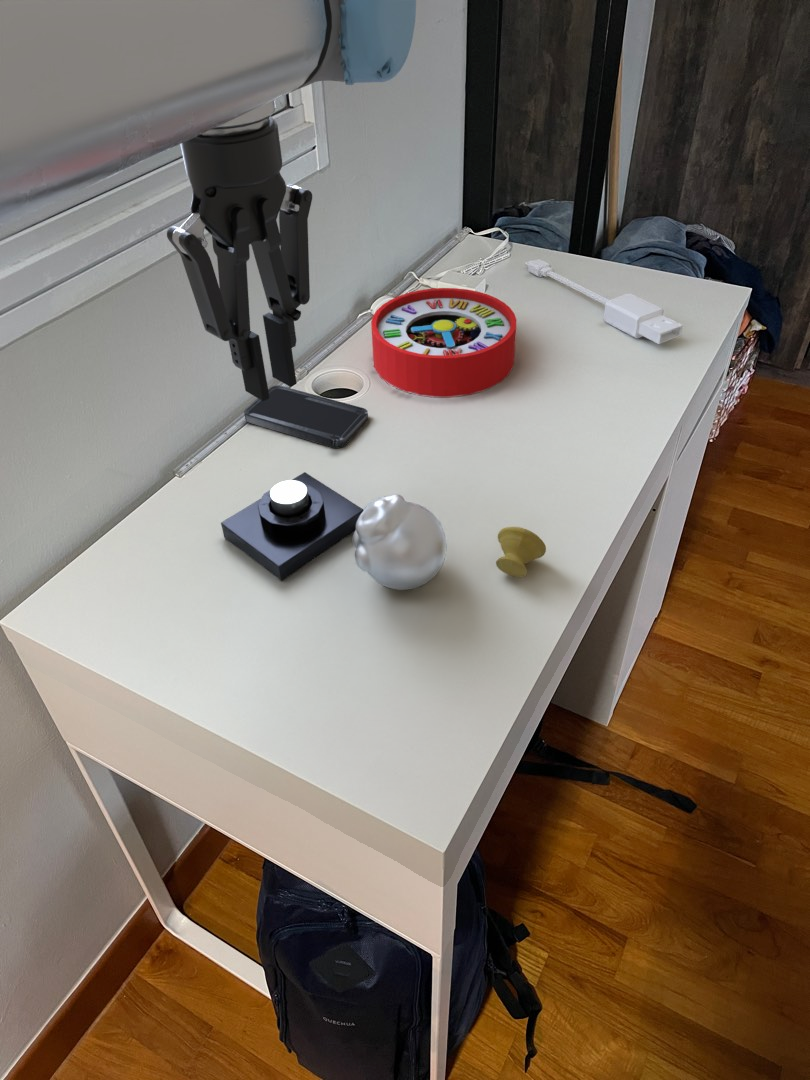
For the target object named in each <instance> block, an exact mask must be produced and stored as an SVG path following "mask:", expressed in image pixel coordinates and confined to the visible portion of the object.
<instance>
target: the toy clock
mask: <svg viewBox="0 0 810 1080" xmlns="http://www.w3.org/2000/svg"><path fill="white" fill-rule="evenodd" d="M370 326H371V327H370V329H371V343H372V358H373V360H372V361H373V367H374V370H375V373H376V374H377V375H378V377H380V379H381V380H383V381H384V382H385V383H387V384H388V385H389V386H392V387H393V388H395V389H397V390H399V391H403V392H405V393H407V394H411V395H412V394H413V395H417V396H421V397H423V396H424V397H429V398H453V397H454V398H455V397H463V396H468V395H472V394H476V393H480V392H483V391H486V390H488V389H490V388H493V387H494V386H496V385H498V384H499V383H501V382H502V381H504V380H505V379H506V378H507V377H508V376H509V374H510V373H511V372H512V371H513V368H514V366H515V353H516V337H517V317H516V313H515V312H514V311H513V310H512V308H511V307H510V306H509V305H508V304H507V303H505V302H504V301H502V300H500V299H499V298H497V297H495V296H493V295H490V294H488V293H484V292H481V291H477V290H473V289H472V290H471V289H466V288H456V287H433V288H427V289H418V290H415V291H409V292H407V293H403V294H401V295H398V296H396V297H394V298H392V299H389V300H388V301H386V302H384V303H383V304H382V305H381V306H380V307H378V308H377V309H376V311H375V312H374V314H373V315H372V317H371V321H370Z"/></svg>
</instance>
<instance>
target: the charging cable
mask: <svg viewBox="0 0 810 1080" xmlns="http://www.w3.org/2000/svg"><path fill="white" fill-rule="evenodd" d="M524 265H525V266H527V271H528V273H530V274H532V275H534V276H536V277H537V278H541V277H545V278H547V277H550V278H552V279H554V280H556V281H558V282H559V283H561V284H563V285H566V286H567V287H569V288H572V289H573V290H575V291H578V292H580V293H582V294H583V295H585V296H587V297H589V298H592V299H593V300H594V301H597V302H599V303H601V304H603V305H604V311H603V319H602V320H603V322H604V323H606V324H608V325H610V326H611V327H614V328H615V329H617V330H620V331H622V332H623V333H625V334H627V335H629V336H630V337H633V338H635V339H640V338H642V337H643V338H646V339H648V340H650V341H651V342H654V343H656V344H658V345H661V344H663V343H666V342H668V341H671V340H674V339H676V338H678V337H681V336H682V332H683V326H684V325H683V324H682V323H679V322H677V321H676V320H673V319H671V318H669V317H668V316H665V315H664V313H665V312H664V311H665V310H664V309H663V308H661V307H659V306H657V305H655V304H653V303H651V302H649V301H647V300H645V299H643V298H641V297H639V296H637V295H635V294H632V293H631V292H629V293H625V294H622V295H619V296H617V297H614V298H611V299H608V298H606V297H605V296H602V295H600V294H598V293H596V292H594V291H592V290H590V289H588V288H587V287H584V286H582V285H580V284H578V283H576V282H574V281H573V280H570V279H568V278H567V277H564V276H562V275H561V274H559V273H556V272H555V271H554V268H552V265H551V264H550V263H548V262H547V261H544V260H542V259H540V258H538V259H535V260H533V259H532V260H529V261H525V262H524Z"/></svg>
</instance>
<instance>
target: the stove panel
mask: <svg viewBox="0 0 810 1080" xmlns="http://www.w3.org/2000/svg"><path fill="white" fill-rule="evenodd" d="M291 480H295V481H299V482H302V483H303V484H305V485H306V487H307V490H308V497H309V503H310V506H309V509H308V510H307V512H305V513H304V514H302V515H300V516H296V517H291V518H285V517H279V516H277V515H276V514H275V513H274V512H273V510H272V504H271V499H270V491H271V489H269V490H268V491H266V492H264V493H263V495H262V497H261V498H259V499H258V500H256V501H255V502H253V503H251V504H250V505H248V506H246V507H245V508H243V509H241V510H239V511H238V512H236V513H234V514H232V515H231V516H229V517H228V518H227V519H225V520H223V521H221V522H220V525H221V529H222V534H223V538H225V539H226V540H227V541H228V542H229V543H231V544H232V545H234V546H235V547H236V548H237V549H238V550H240V551H242V552H243V553H244V554H245V555H246V556H248V557H249V558H250V559H252V560H253V561H254V562H256V563H257V564H259V566H261V567H262V568H263V569H265V570H266V571H267V572H268V573H270V574H271V575H273V576H274V577H276V578H277V579H278V580H279V581H281V582H283V581H285V580H286V579H287V578H289V577H290V576H292V575H293V574H295V573H297V571H299V570H300V569H302V568H304V567H305V566H307V565H308V564H309V563H311V562H312V561H314V560H315V559H317V558H318V557H319V556H321V555H323V554H324V553H325V552H327V551H328V550H330V549H332V548H333V547H334V546H336V545H337V544H339V543H340V542H342V541H343V540H345V539H346V538H348V537H349V536H351V535H353V534H354V531H355V530H356V522H357V520H358V518H359V516H360V515H361V513H362V512H363V510H364V508H362V507H361V506H359V505H357V504H356V503H354V502H353V501H351V500H350V499H348V498H347V497H344V496H343V495H342V494H340V493H339V492H337V491H336V490H334V489H332V488H331V487H329V486H327V485H325V484H324V483H323V482H322V481H320V480H318V479H316V478H315V477H313V476H312V475H311V474H309V473H307V472H302V473H300V474H298V475H297V476H296V477H294V478H293V479H291Z"/></svg>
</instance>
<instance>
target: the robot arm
mask: <svg viewBox="0 0 810 1080" xmlns="http://www.w3.org/2000/svg"><path fill="white" fill-rule="evenodd" d="M416 15H417V0H0V229H2V228H4V227H6V226H8V225H10V224H12V223H15V222H16V221H19V220H21V219H23V218H25V217H27V216H29V215H31V214H33V213H36V212H38V211H40V210H42V209H44V208H46V207H49V206H50V205H53V204H56V203H57V202H59V201H62V200H63V199H66V198H67V197H70V196H72V195H74V194H76V193H79V192H80V191H83V190H85V189H87V188H89V187H91V186H93V185H96V184H98V183H100V182H102V181H104V180H107V179H109V178H111V177H113V176H115V175H117V174H120V173H121V172H123V171H126V170H128V169H129V168H132V167H134V166H136V165H139V164H140V163H143V162H145V161H147V160H149V159H152V158H154V157H156V156H158V155H160V154H163V153H164V152H166V151H168V150H170V149H173V148H176V147H177V146H179V145H180V149H181V154H182V159H183V163H184V170H185V173H186V176H187V178H188V181H189V183H190V186H191V190H192V197H191V202H190V213H191V215H190V216H189V217H188V218H187V219H186V220H185V221H184V222H183V223H182V224H181V226H180V227H178V226H175V225H172V226H170V227H169V228H168V229H167V231H166V238H167V240H168V241H169V242H170V244H171V245H172V246H173V248H174V249H175V250H176V251H177V253H178V254H179V255H180V259H181V261H182V264H183V267H184V270H185V274H186V276H187V279H188V282H189V285H190V288H191V291H192V294H193V298H194V302H195V304H196V306H197V310H198V313H199V316H200V318H201V321H202V324H203V327H204V330H205V331H206V332H207V333H209V334H211V335H213V336H214V337H216V338H218V339H220V340H222V341H224V342H228V345H229V349H230V355H231V360H232V364H233V365H234V366H235V367H236V368H238V369H240V370H241V374H242V379H243V380H242V381H243V385H244V390H245V392H246V393H248V394H250V395H252V396H253V397H255V398H256V399H260V400H262V401H265V400H267V399H269V398H270V397H269V392H268V389H269V388H268V387H269V386H268V380H267V375H266V369H265V362H264V357H263V350H262V346H261V345H262V344H261V340H260V339H261V338H260V335H259V334H258V333H256V332H253V331H251V317H250V301H249V300H250V298H249V282H248V281H249V279H248V263H247V262H249V260H250V258H251V254H250V246H251V249H252V253H253V256H254V259H255V263H256V267H257V270H258V273H259V277H260V281H261V284H262V288H263V292H264V296H265V298H266V302H267V305H268V306H267V307H268V309H269V310H271V311H272V313H271V312H267V313H264V314H262V320H263V325H264V326H263V327H264V333H265V339H266V344H267V350H268V357H269V363H270V369H271V375H272V378H274V379H276V380H277V381H279V382H281V383H283V384H284V385H286V386H288V387H289V388H292V387H294V386H296V385H297V384H298V383H297V376H296V369H295V361H294V355H293V348H295V347H296V346H297V335H296V333H297V332H296V327H295V322H296V321H299V319H300V318H301V316H302V311H301V310H299V309H298V308H299V306H301V305H304V306H305V305H307V304H308V303H309V301H310V299H311V289H310V288H311V287H310V257H309V255H310V254H309V252H310V251H309V221H308V220H309V214H310V211H311V206H312V203H313V202H312V201H313V193H312V192H311V191H310V190H309V189H306V188H303V187H302V186H298V185H295V184H292V183H287V184H286V181H285V179H284V178H283V176H282V174H281V171H282V168H283V156H282V148H281V142H280V141H281V139H280V132H279V126H278V122H277V121H276V120H275V119H274V118H273V117H272V115H273V114H275V112H276V108H277V105H276V100H278V99H280V98H281V97H284V96H286V95H288V94H290V93H292V92H295V91H298V90H300V89H303V88H305V87H308V86H309V85H312V84H314V83H317V82H325V81H326V82H327V81H328V82H329V81H330V82H340V83H344V84H345V85H346V86H354V85H355V84H364V83H365V84H366V83H385V82H387V81H391V80H392V79H393V78H394V77H396V76H397V75H398V74H399V73H400V71H401V70H402V68H403V67H404V65H405V63H406V62H407V59H408V56H409V53H410V50H411V47H412V42H413V38H414V31H415V25H416ZM277 219H278V221H277ZM278 223H279V225H278ZM205 230H206V231H207V232H208V234H210V235H211V240H212V250H213V252H214V254H215V255H216V259H217V272H218V279H217V276H216V272H215V269H214V266H213V263H212V259H211V257H210V255H209V252H208V251H207V250H206V248H207V247H208V245H209V244H208V241H207V240H206V236H205V234H204V233H205Z"/></svg>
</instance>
